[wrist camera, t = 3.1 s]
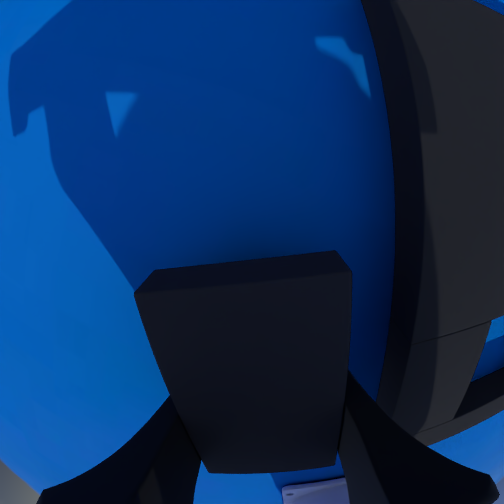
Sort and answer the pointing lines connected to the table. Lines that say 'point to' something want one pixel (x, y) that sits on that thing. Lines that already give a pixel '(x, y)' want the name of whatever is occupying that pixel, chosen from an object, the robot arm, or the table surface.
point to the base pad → (443, 209)
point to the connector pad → (254, 357)
